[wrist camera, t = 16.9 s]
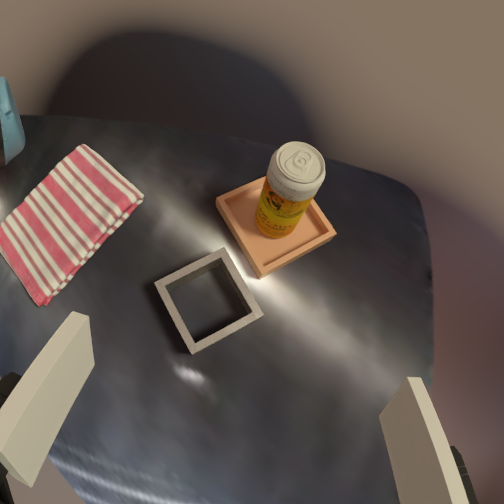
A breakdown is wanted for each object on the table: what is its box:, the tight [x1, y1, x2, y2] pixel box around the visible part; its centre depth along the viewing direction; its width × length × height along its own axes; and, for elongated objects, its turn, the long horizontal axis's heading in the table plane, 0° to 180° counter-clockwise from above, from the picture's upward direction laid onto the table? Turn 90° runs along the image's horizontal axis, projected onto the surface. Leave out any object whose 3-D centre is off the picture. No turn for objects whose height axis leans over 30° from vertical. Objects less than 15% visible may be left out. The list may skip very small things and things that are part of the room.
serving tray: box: [216, 176, 337, 279], centre depth 46 cm, size 13×13×2 cm
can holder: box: [154, 247, 264, 355], centre depth 40 cm, size 10×10×4 cm
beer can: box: [255, 142, 325, 238], centre depth 39 cm, size 6×6×15 cm
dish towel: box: [0, 144, 144, 307], centre depth 42 cm, size 17×23×4 cm
